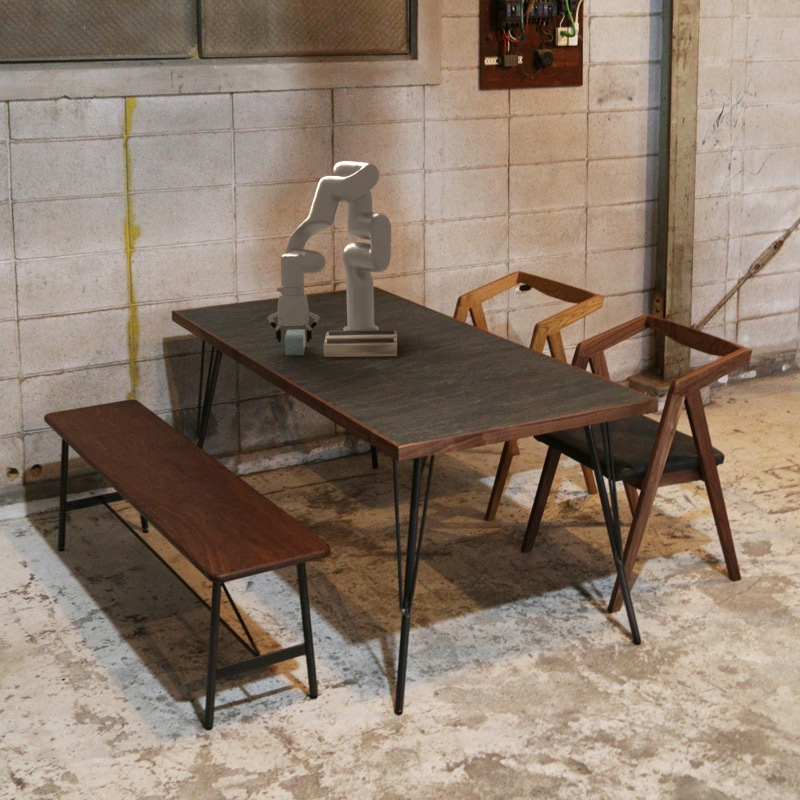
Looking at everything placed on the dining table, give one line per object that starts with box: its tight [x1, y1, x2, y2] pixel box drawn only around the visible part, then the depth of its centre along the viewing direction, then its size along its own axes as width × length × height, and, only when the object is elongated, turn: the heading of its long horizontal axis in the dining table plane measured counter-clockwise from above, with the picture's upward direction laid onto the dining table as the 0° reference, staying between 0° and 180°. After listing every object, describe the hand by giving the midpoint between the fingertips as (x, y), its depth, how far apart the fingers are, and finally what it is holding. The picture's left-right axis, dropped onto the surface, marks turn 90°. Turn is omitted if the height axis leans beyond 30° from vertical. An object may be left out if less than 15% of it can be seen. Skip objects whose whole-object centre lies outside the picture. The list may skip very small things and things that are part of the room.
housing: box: [284, 329, 306, 356], centre depth 431 cm, size 12×6×6 cm, turn 1°
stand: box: [323, 329, 398, 358], centre depth 431 cm, size 18×24×5 cm
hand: (294, 341), depth 431 cm, fingers open, 9 cm apart
